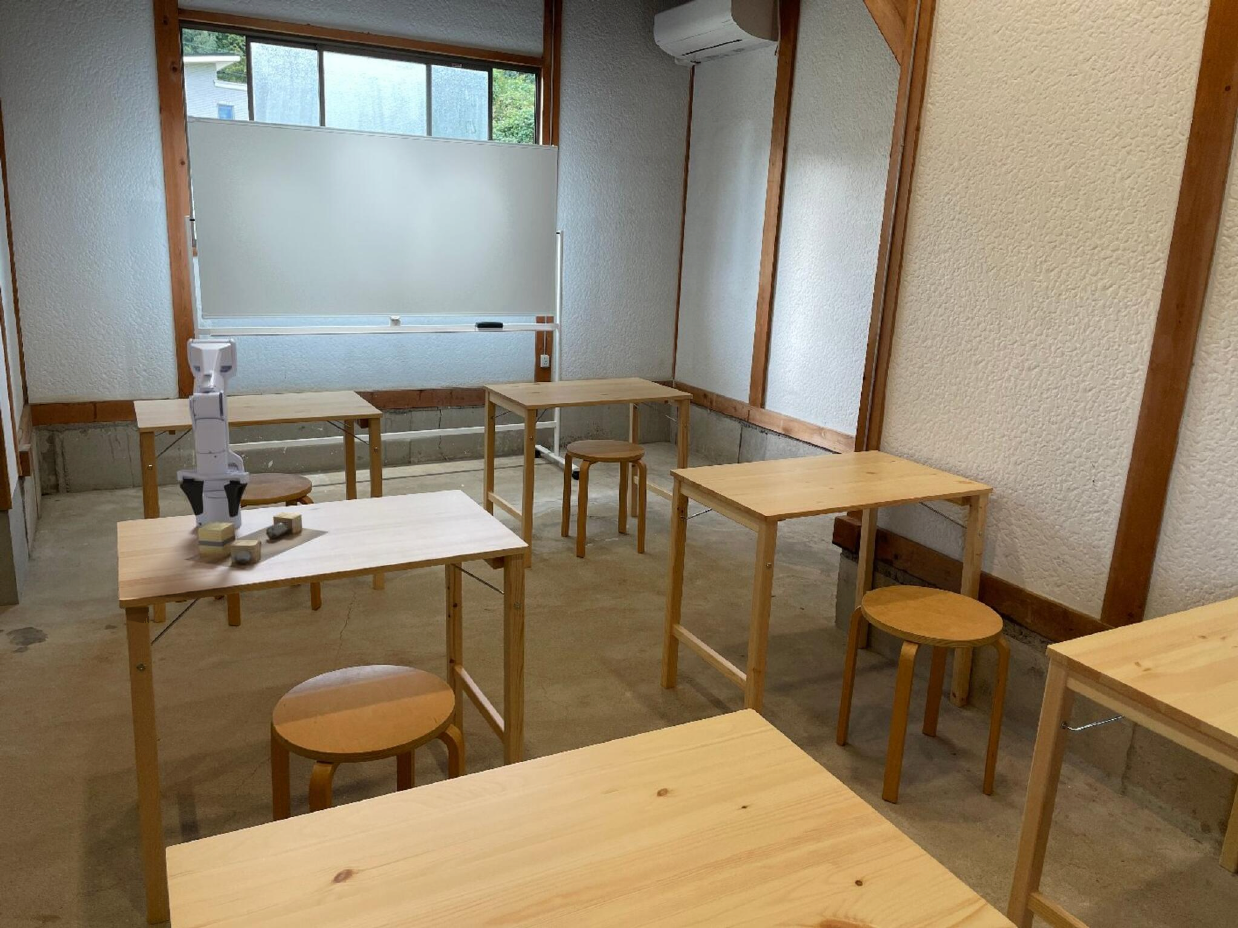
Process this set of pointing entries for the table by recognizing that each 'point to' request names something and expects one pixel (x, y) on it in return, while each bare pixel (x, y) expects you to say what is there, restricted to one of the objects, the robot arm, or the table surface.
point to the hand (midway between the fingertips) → (216, 515)
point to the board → (265, 546)
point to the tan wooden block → (216, 539)
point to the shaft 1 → (245, 551)
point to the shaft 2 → (285, 525)
